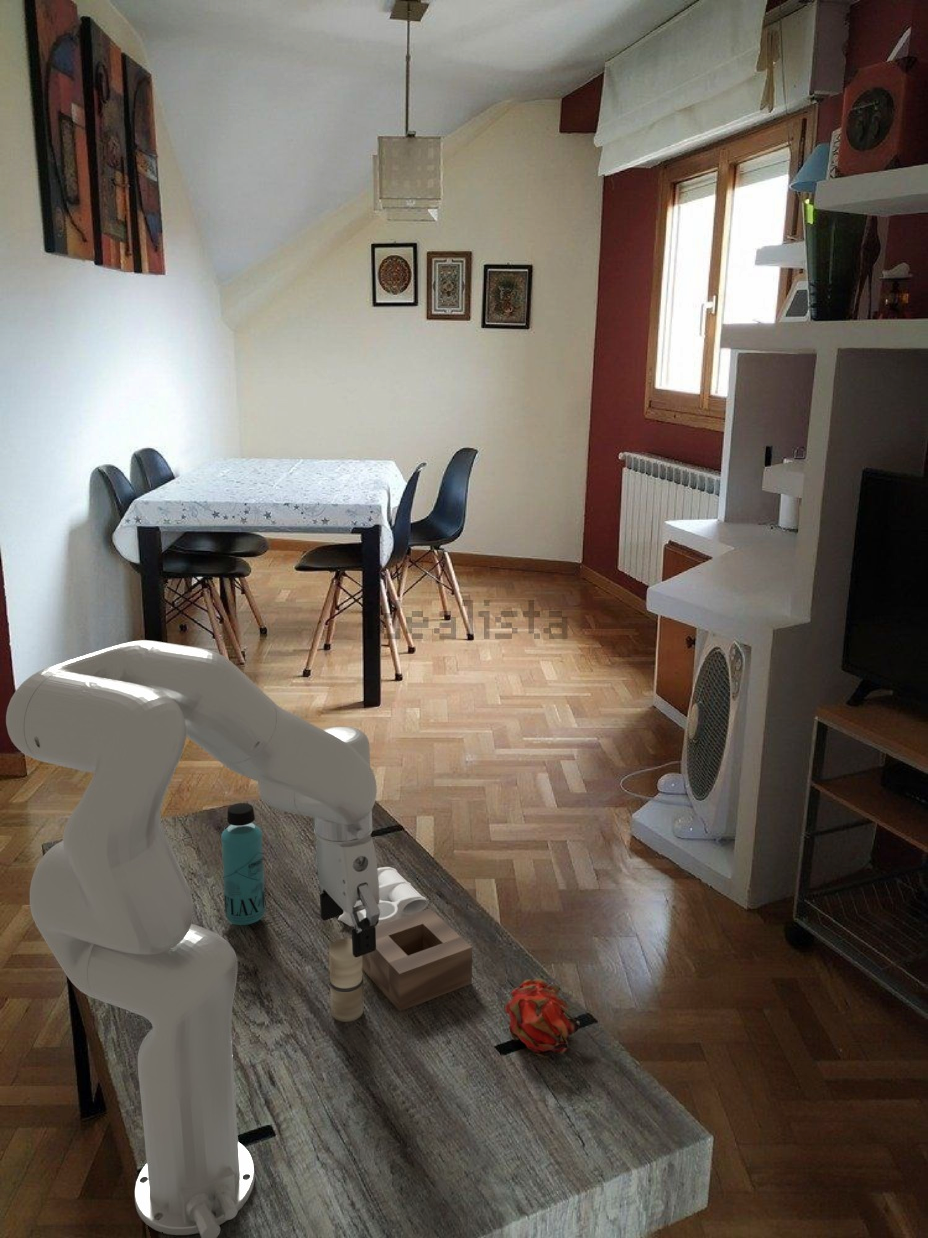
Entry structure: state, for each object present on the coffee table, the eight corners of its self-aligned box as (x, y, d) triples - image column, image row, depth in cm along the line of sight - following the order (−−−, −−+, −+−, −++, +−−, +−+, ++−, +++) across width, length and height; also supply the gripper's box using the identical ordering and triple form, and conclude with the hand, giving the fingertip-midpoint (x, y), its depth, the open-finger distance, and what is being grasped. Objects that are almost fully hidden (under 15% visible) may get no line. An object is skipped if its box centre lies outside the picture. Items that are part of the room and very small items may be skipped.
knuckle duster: (437, 921, 159) (353, 948, 151) (386, 871, 173) (308, 894, 166) (437, 903, 158) (353, 929, 150) (386, 854, 173) (307, 876, 165)
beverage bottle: (217, 931, 155) (210, 814, 149) (236, 908, 161) (230, 795, 156) (256, 937, 153) (250, 819, 148) (274, 914, 160) (268, 800, 154)
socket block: (471, 983, 143) (472, 947, 141) (399, 1011, 137) (399, 974, 135) (429, 943, 152) (429, 908, 151) (361, 967, 146) (360, 931, 145)
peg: (369, 1015, 136) (368, 951, 133) (339, 1026, 133) (337, 962, 131) (354, 996, 140) (353, 934, 137) (324, 1008, 137) (322, 944, 135)
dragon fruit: (519, 1019, 138) (563, 1086, 128) (478, 1005, 133) (520, 1073, 123) (556, 971, 137) (603, 1034, 127) (516, 955, 132) (561, 1020, 122)
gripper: (400, 841, 124) (403, 958, 129) (340, 788, 138) (344, 896, 143) (346, 858, 120) (351, 978, 125) (289, 802, 134) (296, 912, 139)
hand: (347, 934), depth 134 cm, fingers open, 9 cm apart
